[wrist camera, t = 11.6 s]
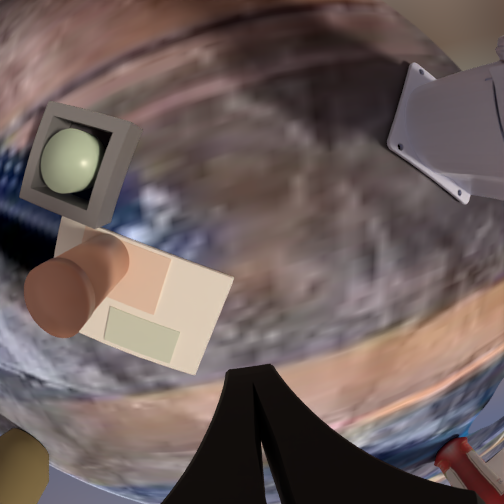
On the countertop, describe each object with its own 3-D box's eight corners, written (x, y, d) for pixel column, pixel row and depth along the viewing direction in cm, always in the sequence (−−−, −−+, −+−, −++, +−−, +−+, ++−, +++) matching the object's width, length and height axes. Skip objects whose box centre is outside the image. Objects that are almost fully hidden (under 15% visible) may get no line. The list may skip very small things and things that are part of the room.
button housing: (143, 129, 15) (131, 122, 13) (110, 222, 16) (95, 229, 14) (67, 108, 14) (49, 100, 12) (39, 194, 15) (19, 197, 13)
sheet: (234, 276, 18) (234, 278, 18) (195, 372, 20) (194, 376, 19) (64, 212, 16) (61, 213, 15) (48, 314, 17) (46, 317, 17)
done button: (114, 141, 14) (102, 136, 13) (95, 199, 15) (81, 201, 13) (68, 127, 14) (53, 122, 12) (50, 182, 14) (34, 183, 12)
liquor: (465, 437, 30) (539, 529, 3) (433, 465, 31) (499, 562, 4) (461, 426, 28) (546, 530, 2) (425, 457, 29) (500, 569, 2)
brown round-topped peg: (135, 242, 16) (90, 282, 10) (124, 290, 17) (81, 348, 10) (89, 225, 16) (26, 253, 9) (80, 273, 16) (23, 320, 10)
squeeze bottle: (68, 468, 22) (37, 574, 4) (25, 456, 21) (-11, 545, 4) (36, 426, 20) (-16, 543, 2) (-6, 415, 19) (-59, 508, 2)
